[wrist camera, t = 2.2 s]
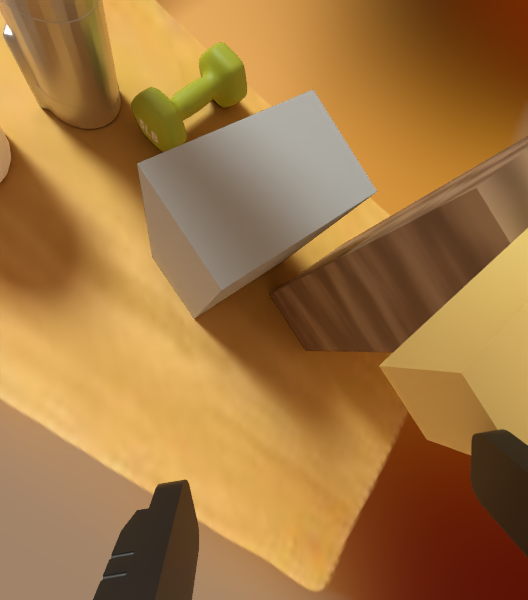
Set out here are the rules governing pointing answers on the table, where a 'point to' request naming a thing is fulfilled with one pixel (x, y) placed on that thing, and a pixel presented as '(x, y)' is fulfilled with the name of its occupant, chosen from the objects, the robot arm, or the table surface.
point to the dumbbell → (191, 97)
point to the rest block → (247, 198)
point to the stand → (409, 261)
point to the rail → (471, 358)
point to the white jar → (4, 155)
